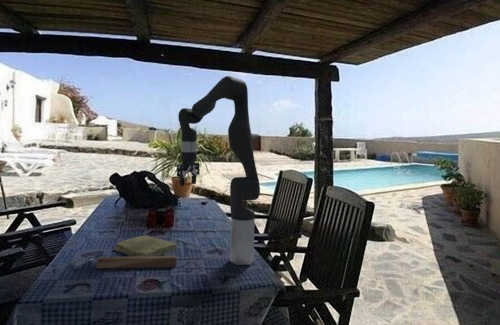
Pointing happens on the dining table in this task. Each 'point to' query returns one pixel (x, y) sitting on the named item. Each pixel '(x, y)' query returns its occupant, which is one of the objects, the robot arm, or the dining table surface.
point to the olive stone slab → (145, 246)
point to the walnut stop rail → (136, 262)
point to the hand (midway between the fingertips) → (188, 184)
